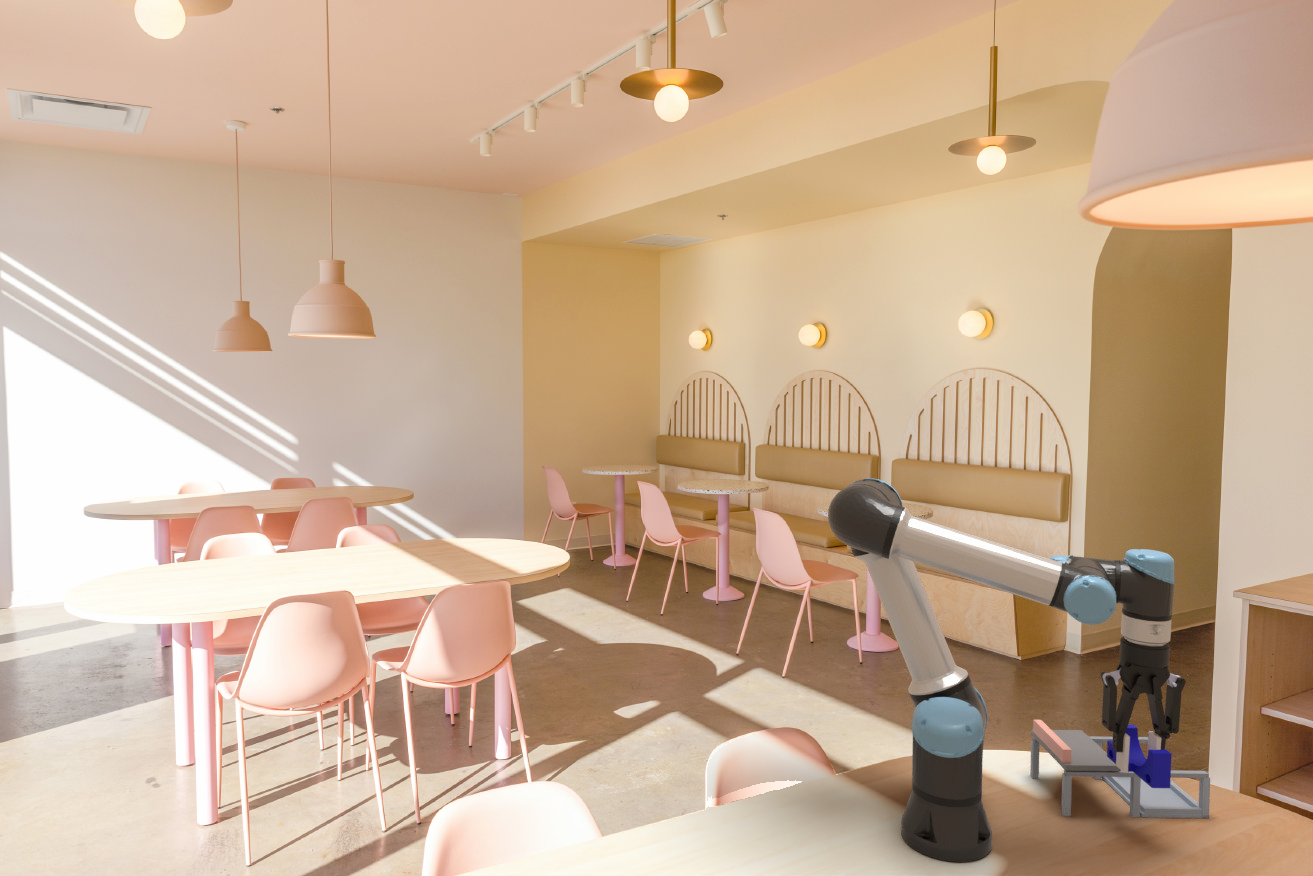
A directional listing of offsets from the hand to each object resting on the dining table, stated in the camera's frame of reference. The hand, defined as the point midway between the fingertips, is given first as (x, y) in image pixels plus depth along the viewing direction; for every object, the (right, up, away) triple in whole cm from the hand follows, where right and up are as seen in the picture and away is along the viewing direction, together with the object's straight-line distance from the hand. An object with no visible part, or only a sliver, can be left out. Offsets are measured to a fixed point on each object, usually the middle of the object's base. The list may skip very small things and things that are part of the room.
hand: (1137, 769), depth 149 cm
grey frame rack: (+4, -11, +15) cm, 20 cm away
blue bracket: (0, -1, 0) cm, 1 cm away
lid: (-4, -3, +15) cm, 16 cm away
